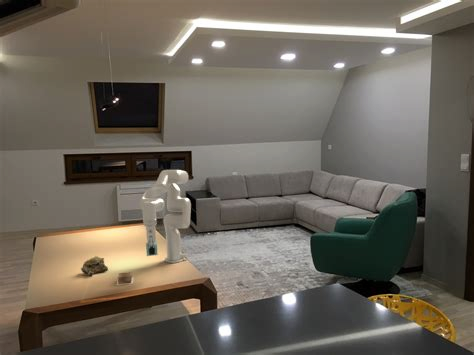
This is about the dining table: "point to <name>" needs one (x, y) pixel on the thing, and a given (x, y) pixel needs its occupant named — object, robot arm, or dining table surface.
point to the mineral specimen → (94, 266)
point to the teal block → (148, 249)
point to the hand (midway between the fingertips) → (152, 252)
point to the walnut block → (124, 278)
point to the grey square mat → (126, 283)
